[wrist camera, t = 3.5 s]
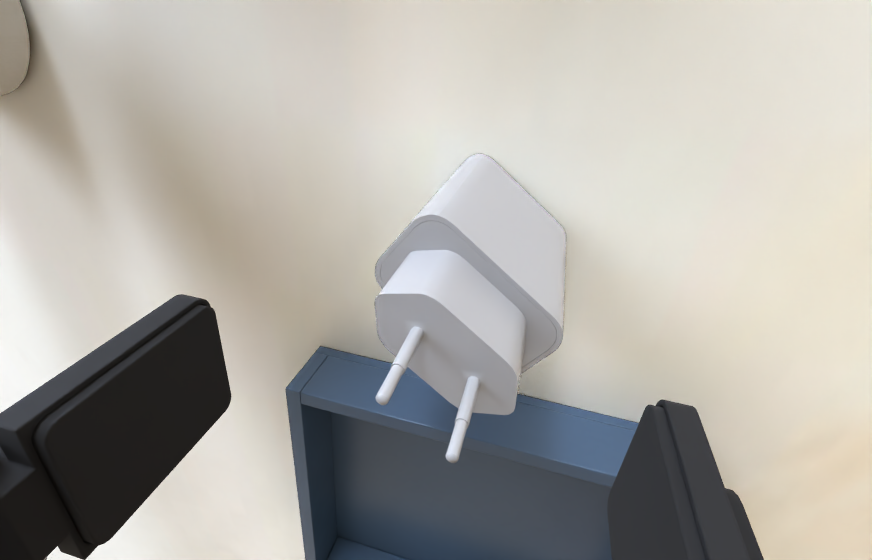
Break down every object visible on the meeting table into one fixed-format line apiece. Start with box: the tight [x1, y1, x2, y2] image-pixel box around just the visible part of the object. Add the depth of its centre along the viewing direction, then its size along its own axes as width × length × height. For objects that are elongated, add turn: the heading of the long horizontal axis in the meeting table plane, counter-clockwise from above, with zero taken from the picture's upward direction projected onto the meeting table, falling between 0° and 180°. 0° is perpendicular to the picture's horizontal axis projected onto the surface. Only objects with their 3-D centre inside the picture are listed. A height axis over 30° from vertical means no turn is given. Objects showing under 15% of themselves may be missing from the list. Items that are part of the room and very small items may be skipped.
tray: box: [286, 346, 639, 560], centre depth 26 cm, size 20×18×4 cm
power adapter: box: [375, 154, 566, 463], centre depth 14 cm, size 3×5×12 cm, turn 50°
